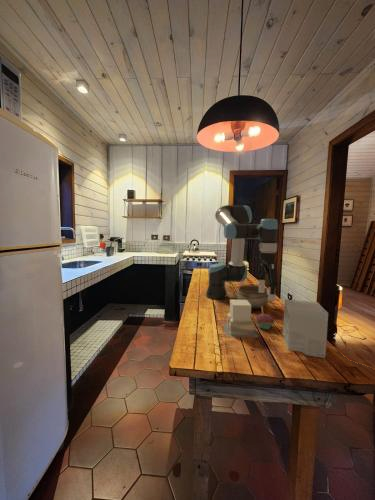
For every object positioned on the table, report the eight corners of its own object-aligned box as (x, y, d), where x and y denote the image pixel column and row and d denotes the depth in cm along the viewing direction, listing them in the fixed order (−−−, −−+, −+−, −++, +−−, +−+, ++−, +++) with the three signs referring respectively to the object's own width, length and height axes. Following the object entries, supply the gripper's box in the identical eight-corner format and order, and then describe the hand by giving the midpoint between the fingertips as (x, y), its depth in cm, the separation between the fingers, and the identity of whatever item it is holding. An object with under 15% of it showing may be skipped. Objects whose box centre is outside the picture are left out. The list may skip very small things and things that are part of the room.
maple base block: (226, 324, 106) (227, 312, 105) (247, 325, 106) (247, 313, 105) (230, 334, 96) (231, 321, 95) (253, 334, 96) (253, 321, 95)
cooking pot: (268, 303, 142) (269, 285, 141) (277, 314, 123) (278, 293, 122) (229, 301, 144) (230, 283, 143) (232, 312, 125) (233, 291, 124)
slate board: (222, 325, 108) (222, 322, 108) (250, 325, 108) (250, 323, 108) (226, 339, 94) (226, 336, 94) (259, 339, 94) (259, 337, 94)
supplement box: (315, 341, 93) (318, 301, 92) (326, 358, 81) (329, 313, 79) (282, 337, 97) (284, 298, 95) (287, 352, 84) (289, 309, 83)
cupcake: (261, 333, 99) (263, 308, 98) (251, 326, 108) (252, 302, 107) (277, 331, 102) (279, 306, 101) (266, 324, 110) (267, 301, 109)
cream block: (229, 313, 104) (229, 299, 104) (246, 313, 104) (246, 299, 104) (232, 320, 96) (233, 305, 96) (250, 320, 96) (251, 305, 96)
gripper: (252, 250, 114) (250, 289, 116) (269, 254, 89) (267, 304, 91) (266, 250, 114) (265, 289, 115) (287, 254, 89) (285, 305, 91)
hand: (266, 296), depth 103 cm, fingers open, 13 cm apart
